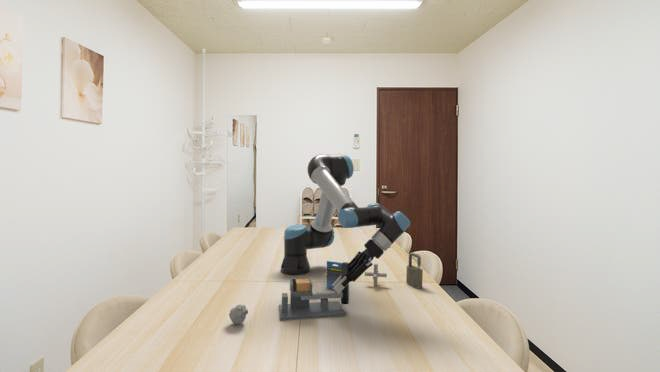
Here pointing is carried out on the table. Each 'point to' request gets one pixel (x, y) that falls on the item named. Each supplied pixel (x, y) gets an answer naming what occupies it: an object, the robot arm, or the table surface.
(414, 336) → the table surface
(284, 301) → the frame
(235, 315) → the grey lumpy piece
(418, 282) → the padlock
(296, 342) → the table surface
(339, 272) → the label tape cartridge
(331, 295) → the rod with black post
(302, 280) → the block
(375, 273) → the pipe connector
